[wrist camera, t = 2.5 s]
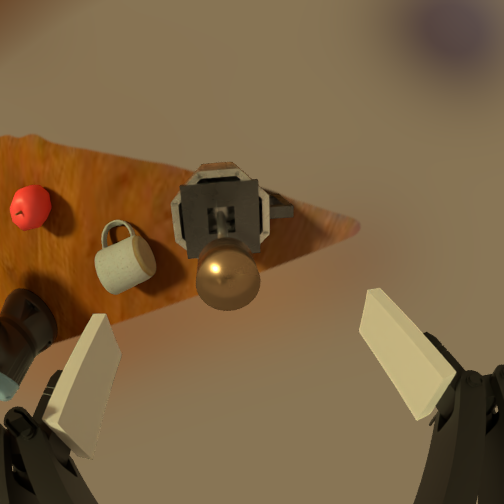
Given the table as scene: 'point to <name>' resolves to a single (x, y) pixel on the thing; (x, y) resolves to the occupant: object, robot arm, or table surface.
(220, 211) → the plunger
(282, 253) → the table surface
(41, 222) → the apple
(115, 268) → the ceramic mug
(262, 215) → the carafe
